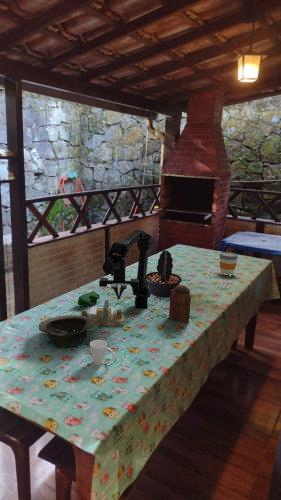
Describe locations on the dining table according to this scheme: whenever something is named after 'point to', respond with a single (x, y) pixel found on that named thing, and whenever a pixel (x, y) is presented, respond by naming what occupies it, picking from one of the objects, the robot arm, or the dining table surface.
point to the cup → (99, 351)
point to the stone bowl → (67, 329)
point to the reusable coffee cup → (227, 262)
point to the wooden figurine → (180, 303)
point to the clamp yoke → (105, 312)
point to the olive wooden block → (100, 313)
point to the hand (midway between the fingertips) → (118, 299)
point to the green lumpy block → (88, 298)
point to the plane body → (114, 319)
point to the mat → (94, 309)
